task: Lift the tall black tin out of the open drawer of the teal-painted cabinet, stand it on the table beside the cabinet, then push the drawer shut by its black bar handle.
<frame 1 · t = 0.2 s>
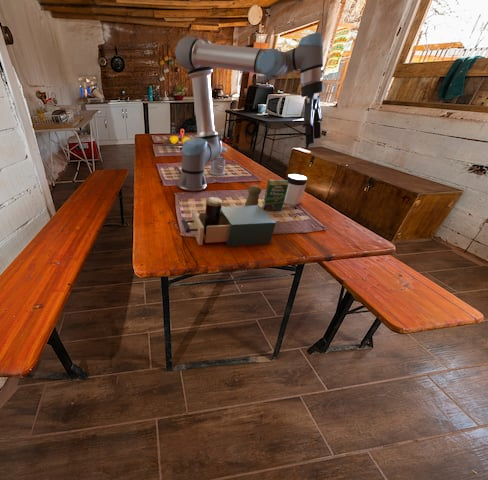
hand: (313, 141, 105), 28 cm above the table, tool tilted 20°, fingers open, 13 cm apart
jar: (290, 201, 122), on the table
tin: (210, 232, 92), point 2 cm above the table, touching drawer
french press: (215, 172, 156), on the table
coffee box: (271, 209, 114), on the table
olive peanut shape: (250, 210, 113), on the table
drawer: (209, 226, 91), point 4 cm above the table, slide at 9.0 cm, touching tin
cabinet: (241, 235, 95), on the table
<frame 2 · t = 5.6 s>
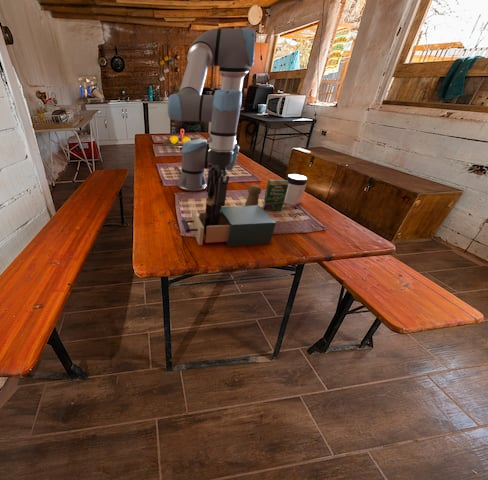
hand: (212, 218, 89), 8 cm above the table, tool pointing down, fingers closed on tin, 5 cm apart
tin: (210, 232, 92), point 2 cm above the table, touching drawer, gripper
everything else where it was.
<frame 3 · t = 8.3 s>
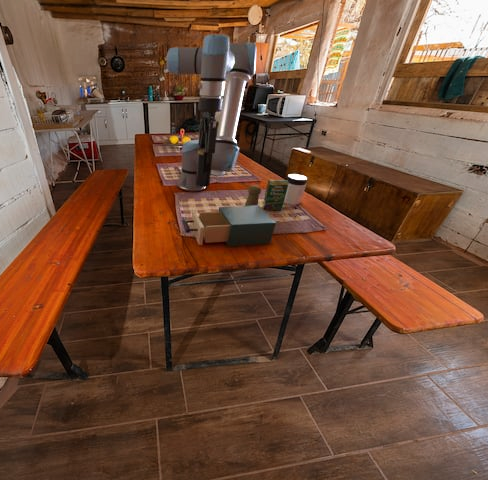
hand: (204, 169, 94), 21 cm above the table, tool pointing down, fingers closed on tin, 5 cm apart
tin: (202, 184, 97), point 15 cm above the table, touching gripper
drawer: (209, 226, 91), point 4 cm above the table, slide at 9.0 cm
everything else where it was.
when the fingers open (6 cm above the table, at t = 11.2 s): tin stays where it is, on the table.
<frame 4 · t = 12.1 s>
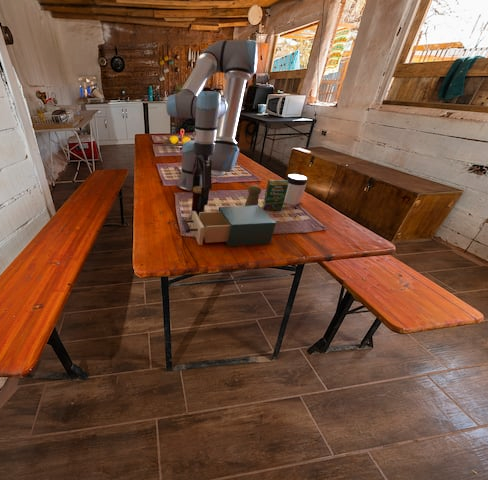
hand: (199, 197, 102), 9 cm above the table, tool pointing down, fingers open, 13 cm apart
tin: (197, 216, 106), on the table
everything else where it was.
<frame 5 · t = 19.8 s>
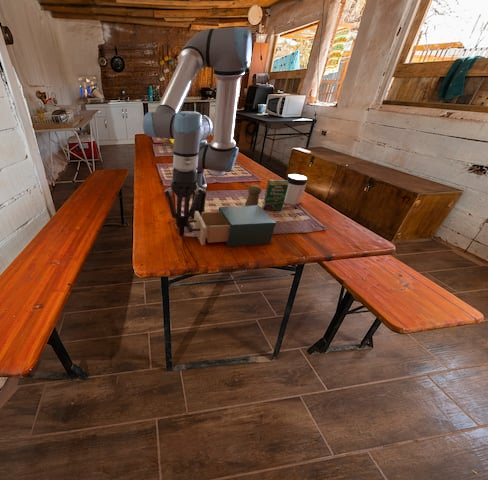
hand: (181, 233, 91), 2 cm above the table, tool pointing down, fingers closed
drawer: (212, 226, 91), point 4 cm above the table, slide at 8.1 cm, touching gripper
everything else where it was.
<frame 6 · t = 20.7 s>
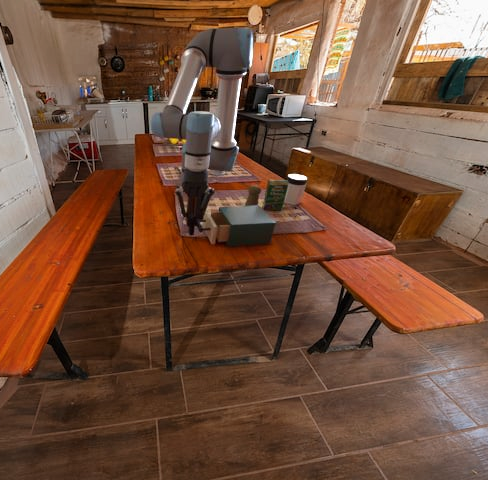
hand: (191, 233, 91), 2 cm above the table, tool pointing down, fingers closed
drawer: (221, 226, 91), point 4 cm above the table, slide at 4.5 cm, touching gripper
everything else where it was.
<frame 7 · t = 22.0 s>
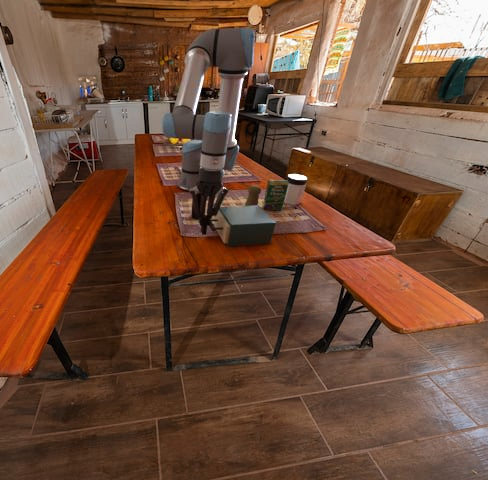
hand: (203, 232, 92), 2 cm above the table, tool pointing down, fingers closed
drawer: (233, 225, 92), point 4 cm above the table, slide at 0.0 cm, touching cabinet, gripper
everything else where it was.
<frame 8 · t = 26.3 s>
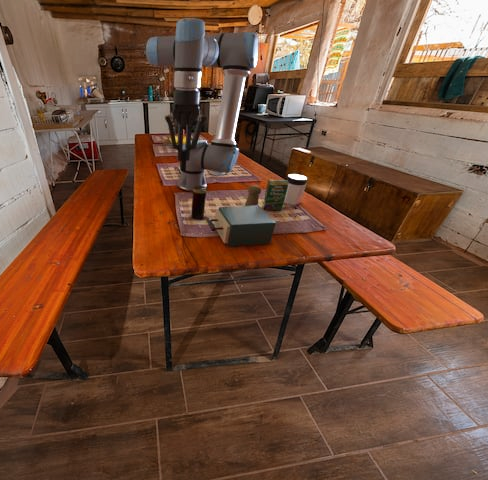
hand: (182, 170, 86), 22 cm above the table, tool pointing down, fingers closed
drawer: (233, 225, 92), point 4 cm above the table, slide at 0.0 cm, touching cabinet
everything else where it was.
at the end: tin inside the target area (0.1 cm from its centre), on the table; tin tilted 0°; drawer slide at 0.0 cm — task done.
